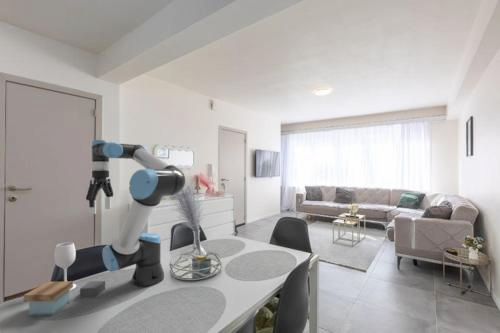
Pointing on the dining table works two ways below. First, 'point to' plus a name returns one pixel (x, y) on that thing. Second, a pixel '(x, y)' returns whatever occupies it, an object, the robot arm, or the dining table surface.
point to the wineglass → (65, 257)
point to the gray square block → (92, 289)
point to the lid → (48, 291)
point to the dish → (48, 305)
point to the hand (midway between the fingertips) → (100, 211)
